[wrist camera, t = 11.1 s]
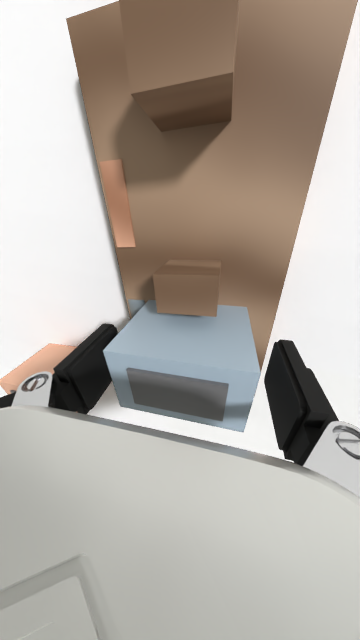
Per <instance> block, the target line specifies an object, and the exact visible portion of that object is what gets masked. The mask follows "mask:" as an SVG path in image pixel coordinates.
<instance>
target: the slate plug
mask: <svg viewBox="0 0 360 640" xmlns="http://www.w3.org/2000/svg"><path fill="white" fill-rule="evenodd" d="M103 353H104V356H105V359H106V362H107V365H108V368H109V372H110V375H111V378H112V381H113V384H114V387H115V390H116V394H117V397H118V400H119V403H120V406H121V407H126V408H131V409H135V410H140V411H145V412H149V413H154V414H159V415H164V416H168V417H173V418H178V419H183V420H187V421H192V422H197V423H201V424H206V425H211V426H216V427H220V428H225V429H230V430H234V431H239V432H244V429H245V425H246V422H247V419H248V415H249V412H250V408H251V405H252V402H253V398H254V395H255V391H256V388H257V385H258V381H259V378H260V374H261V372H260V367H259V363H258V358H257V353H256V348H255V343H254V339H253V334H252V329H251V324H250V319H249V315H248V310H247V307H240V306H227V305H218V307H217V316H216V317H211V316H197V315H183V314H169V313H157V306H156V300H148V301H147V302H146V304H145V305H144V306H143V307H142V308H141V309H140V310H139V311H138V312H137V313H136V315H135V316H134V317H133V318H132V319H131V320H130V321H129V322H128V323H127V325H126V326H125V327H124V328H123V329H122V330H121V331H120V332H119V333H118V334H117V336H116V337H115V338H114V339H113V340H112V341H111V342H110V343H109V344H108V346H107V347H106V348H105V349H104V350H103Z"/></svg>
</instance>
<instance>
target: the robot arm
mask: <svg viewBox="0 0 360 640" xmlns="http://www.w3.org/2000/svg"><path fill="white" fill-rule="evenodd" d="M117 334H118V332H117V329H116V327H114V325H112V324H102V325H101V326H100V327H99V328H98V329H97V330H96V331H95V332H93V333H92V334H91V335H90V336H89V337H88V338H87V339H86V340H84V341H83V342H82V343H81V344H80V345H79V346H78V347H77V348H75V349H74V350H73V351H72V352H71V353H70V354H69V355H68V356H67V357H65V358H64V359H63V360H62V361H61V362H60V363H59V364H58V365H56V366H55V367H54V368H53V370H54V372H55V373H54V374H53V375H52V374H51V373H50V372H47V371H45V372H39V373H36V374H33V375H31V376H30V377H28V378H26V379H25V380H24V381H23V382H22V383H21V384H20V385H19V387H18V388H17V391H16V392H14V393H11V394H9V395H6V396H3V397H1V398H0V640H360V429H359V428H358V427H356V426H354V425H352V424H349V423H346V422H342V421H339V420H338V418H337V416H336V414H335V412H334V411H333V409H332V407H331V405H330V403H329V401H328V399H327V398H326V396H325V394H324V392H323V390H322V388H321V386H320V385H319V383H318V381H317V379H316V377H315V375H314V373H313V372H312V370H311V369H309V368H306V366H305V364H304V362H303V360H302V358H301V356H300V354H299V353H298V351H297V349H296V347H295V345H294V343H293V341H289V340H279V341H278V342H275V343H274V346H273V350H272V353H271V357H270V360H269V364H268V367H267V371H266V374H265V379H264V383H265V388H266V393H267V397H268V402H269V406H270V411H271V415H272V420H273V425H274V429H275V434H276V438H277V443H278V447H279V449H280V450H283V452H284V456H285V459H288V460H292V461H294V463H292V462H289V461H285V460H282V459H279V458H275V457H272V456H268V455H264V454H260V453H256V452H251V451H247V450H243V449H239V448H235V447H231V446H226V445H222V444H218V443H213V442H209V441H204V440H200V439H195V438H191V437H187V436H182V435H178V434H173V433H169V432H164V431H160V430H155V429H151V428H146V427H142V426H137V425H132V424H128V423H123V422H119V421H114V420H109V419H105V418H100V417H95V416H91V415H86V414H87V413H88V412H89V410H90V409H92V408H93V407H94V406H95V404H96V403H97V402H98V400H99V399H100V397H101V396H102V394H103V393H104V391H105V390H106V389H107V387H108V386H109V384H110V383H111V381H112V378H111V375H110V372H109V368H108V365H107V362H106V359H105V356H104V353H103V350H104V349H105V348H106V347H107V346H108V344H109V343H110V342H111V341H112V340H113V339H114V338H115V337H116V336H117ZM76 411H77V412H76Z"/></svg>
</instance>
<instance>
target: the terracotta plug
mask: <svg viewBox="0 0 360 640" xmlns="http://www.w3.org/2000/svg"><path fill="white" fill-rule="evenodd" d="M75 348H77V347H74V346H66V345H58V344H50V343H49V344H48V345H47V346H45V347H44V348H42V349H41V350H40V351H38V352H37V353H36V354H34V355H33V356H32V357H30V358H29V359H27V360H26V361H25V362H23V363H22V364H21V365H19V366H18V367H17V368H15V369H14V370H12V371H11V372H10V373H8V374H7V375H6V376H4V377H3V378H2V379H0V385H1V387H2V388H3V389H4V390H5V391H6V393H7V394H8V395H9V394H11V393H14V392H16V391H17V388H18V387H19V385H20V384H21V383H22V382H23V381H24V380H25V379H26V378H28V377H30V376H31V375H33V374H36V373H39V372H45V371H47V372H50V373H51V374H52V375H53V374H54V373H55V372H54V370H53V368H54V367H55V366H56V365H58V364H59V363H60V362H61V361H62V360H63V359H64V358H65V357H67V356H68V355H69V354H70V353H71V352H72V351H73V350H74V349H75ZM76 412H77V411H76Z"/></svg>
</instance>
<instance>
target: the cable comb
mask: <svg viewBox="0 0 360 640" xmlns="http://www.w3.org/2000/svg"><path fill="white" fill-rule="evenodd" d="M357 2H358V0H119V1H117V2H114V3H111V4H108V5H105V6H102V7H99V8H96V9H93V10H90V11H87V12H85V13H82V14H79V15H76V16H73V17H70V18H67V19H66V20H67V25H68V30H69V34H70V39H71V44H72V48H73V53H74V58H75V62H76V67H77V72H78V76H79V81H80V86H81V90H82V95H83V100H84V104H85V109H86V114H87V118H88V123H89V128H90V133H91V137H92V142H93V147H94V151H95V156H96V161H97V165H98V170H99V175H100V179H101V184H102V189H103V193H104V198H105V203H106V207H107V212H108V217H109V221H110V226H111V231H112V235H113V240H114V245H115V249H116V254H117V259H118V264H119V268H120V273H121V278H122V282H123V287H124V292H125V296H126V301H127V306H128V310H129V315H130V320H131V319H132V318H133V317H134V316H135V315H136V313H137V312H138V311H139V310H140V309H141V308H142V307H143V306H144V305H145V304H146V302H147V301H148V300H156V306H157V313H169V314H183V315H197V316H211V317H216V316H217V307H218V305H227V306H240V307H247V310H248V315H249V319H250V324H251V329H252V334H253V339H254V343H255V348H256V353H257V358H258V363H259V367H260V372H261V369H262V365H263V362H264V358H265V354H266V350H267V346H268V342H269V339H270V335H271V331H272V327H273V323H274V320H275V316H276V312H277V308H278V304H279V300H280V297H281V293H282V289H283V285H284V281H285V277H286V274H287V270H288V266H289V262H290V258H291V254H292V251H293V247H294V243H295V239H296V235H297V231H298V228H299V224H300V220H301V216H302V212H303V208H304V205H305V201H306V197H307V193H308V189H309V185H310V182H311V178H312V174H313V170H314V166H315V163H316V159H317V155H318V151H319V147H320V143H321V140H322V136H323V132H324V128H325V124H326V120H327V117H328V113H329V109H330V105H331V101H332V97H333V94H334V90H335V86H336V82H337V78H338V74H339V71H340V67H341V63H342V59H343V55H344V51H345V48H346V44H347V40H348V36H349V32H350V28H351V25H352V21H353V17H354V13H355V9H356V6H357ZM255 392H256V391H255ZM254 396H255V395H254Z"/></svg>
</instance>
